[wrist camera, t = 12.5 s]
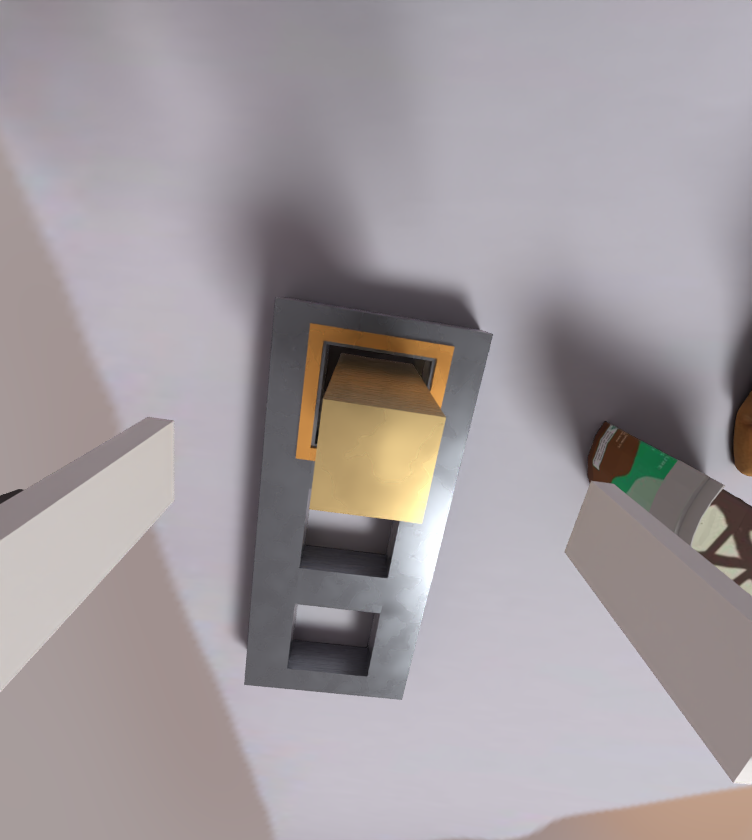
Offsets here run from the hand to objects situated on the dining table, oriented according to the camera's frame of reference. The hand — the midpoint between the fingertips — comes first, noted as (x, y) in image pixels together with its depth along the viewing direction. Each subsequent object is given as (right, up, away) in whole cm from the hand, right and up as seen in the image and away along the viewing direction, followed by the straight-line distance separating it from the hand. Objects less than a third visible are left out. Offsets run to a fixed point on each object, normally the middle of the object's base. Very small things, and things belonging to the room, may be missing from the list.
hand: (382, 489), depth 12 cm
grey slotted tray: (-2, -5, +16) cm, 16 cm away
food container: (+18, -2, +16) cm, 24 cm away
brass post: (0, +4, +13) cm, 14 cm away
